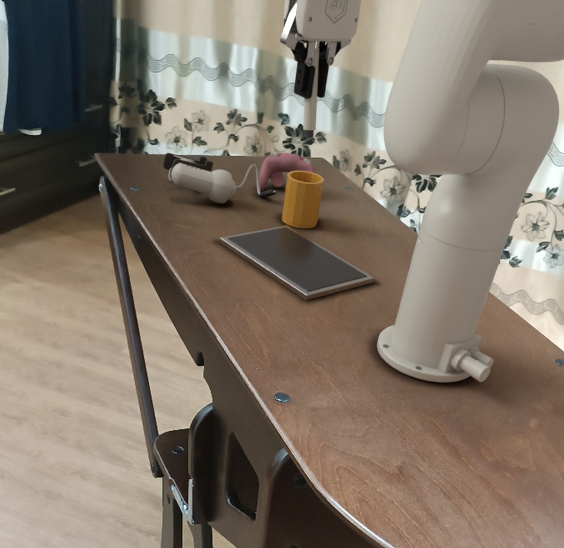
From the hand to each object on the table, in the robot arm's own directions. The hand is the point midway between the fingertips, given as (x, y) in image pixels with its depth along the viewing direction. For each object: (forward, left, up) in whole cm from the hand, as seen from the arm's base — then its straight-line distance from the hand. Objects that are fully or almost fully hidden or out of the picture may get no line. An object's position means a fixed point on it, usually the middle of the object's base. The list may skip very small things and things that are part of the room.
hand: (309, 94), depth 101 cm
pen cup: (+2, -3, -19) cm, 20 cm away
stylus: (-1, 0, -5) cm, 5 cm away
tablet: (-10, +8, -19) cm, 23 cm away
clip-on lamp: (+16, +3, -19) cm, 25 cm away
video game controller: (+14, -10, -19) cm, 26 cm away
